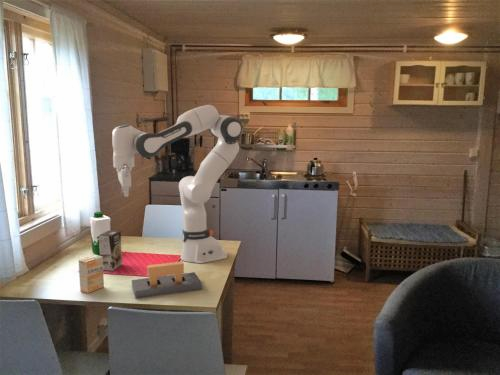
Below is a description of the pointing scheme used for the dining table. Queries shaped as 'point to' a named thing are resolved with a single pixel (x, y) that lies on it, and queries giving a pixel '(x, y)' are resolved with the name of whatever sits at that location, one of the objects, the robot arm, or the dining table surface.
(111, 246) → the coffee box
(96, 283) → the supplement box
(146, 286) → the holed rail
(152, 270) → the orange u-shaped block
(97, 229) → the milk carton
